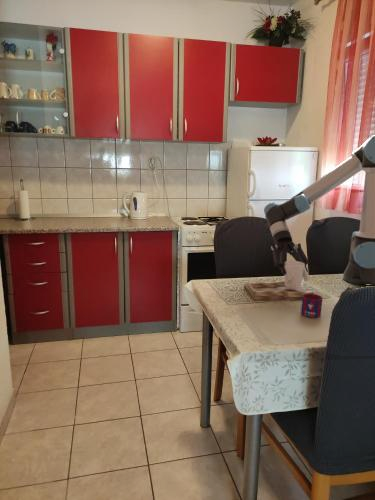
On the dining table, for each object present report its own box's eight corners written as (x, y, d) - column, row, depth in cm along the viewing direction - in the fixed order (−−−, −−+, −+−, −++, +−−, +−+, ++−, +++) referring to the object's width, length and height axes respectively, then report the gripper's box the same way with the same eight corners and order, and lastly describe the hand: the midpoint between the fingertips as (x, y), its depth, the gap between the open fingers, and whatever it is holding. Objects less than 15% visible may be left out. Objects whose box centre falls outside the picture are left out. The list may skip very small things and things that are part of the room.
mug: (299, 316, 128) (301, 297, 127) (304, 306, 137) (305, 289, 135) (319, 320, 125) (321, 301, 124) (322, 310, 134) (324, 292, 133)
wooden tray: (297, 285, 161) (297, 279, 161) (313, 299, 145) (314, 293, 144) (244, 286, 159) (244, 280, 158) (255, 300, 143) (255, 294, 142)
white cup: (300, 283, 156) (302, 261, 153) (304, 289, 148) (306, 266, 146) (281, 282, 157) (283, 260, 154) (284, 288, 149) (286, 265, 147)
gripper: (297, 238, 165) (315, 283, 154) (256, 239, 160) (271, 286, 149) (305, 228, 159) (324, 274, 148) (263, 229, 154) (279, 277, 142)
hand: (298, 280), depth 148 cm, fingers closed on white cup, 8 cm apart
